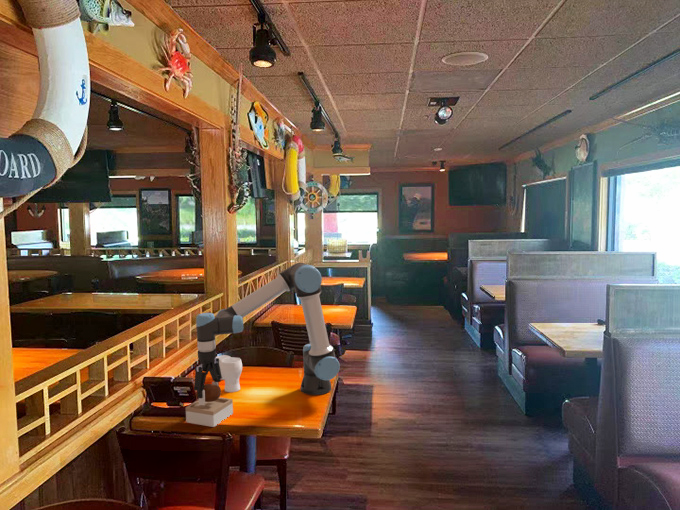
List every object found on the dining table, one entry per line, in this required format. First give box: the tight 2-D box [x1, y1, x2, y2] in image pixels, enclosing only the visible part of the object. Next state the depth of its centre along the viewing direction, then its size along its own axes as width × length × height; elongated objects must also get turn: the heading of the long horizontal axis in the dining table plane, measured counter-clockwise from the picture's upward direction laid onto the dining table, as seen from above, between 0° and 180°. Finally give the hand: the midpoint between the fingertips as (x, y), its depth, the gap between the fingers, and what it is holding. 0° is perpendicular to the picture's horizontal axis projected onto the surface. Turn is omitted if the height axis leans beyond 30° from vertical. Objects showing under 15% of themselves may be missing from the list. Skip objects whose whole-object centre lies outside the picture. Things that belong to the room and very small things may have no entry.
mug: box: [216, 354, 232, 381], centre depth 264 cm, size 12×8×11 cm
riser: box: [185, 396, 234, 428], centre depth 215 cm, size 14×14×7 cm
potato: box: [195, 383, 222, 402], centre depth 214 cm, size 8×11×8 cm
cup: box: [220, 356, 243, 393], centre depth 248 cm, size 11×11×15 cm
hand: (209, 400), depth 215 cm, fingers closed on potato, 9 cm apart
